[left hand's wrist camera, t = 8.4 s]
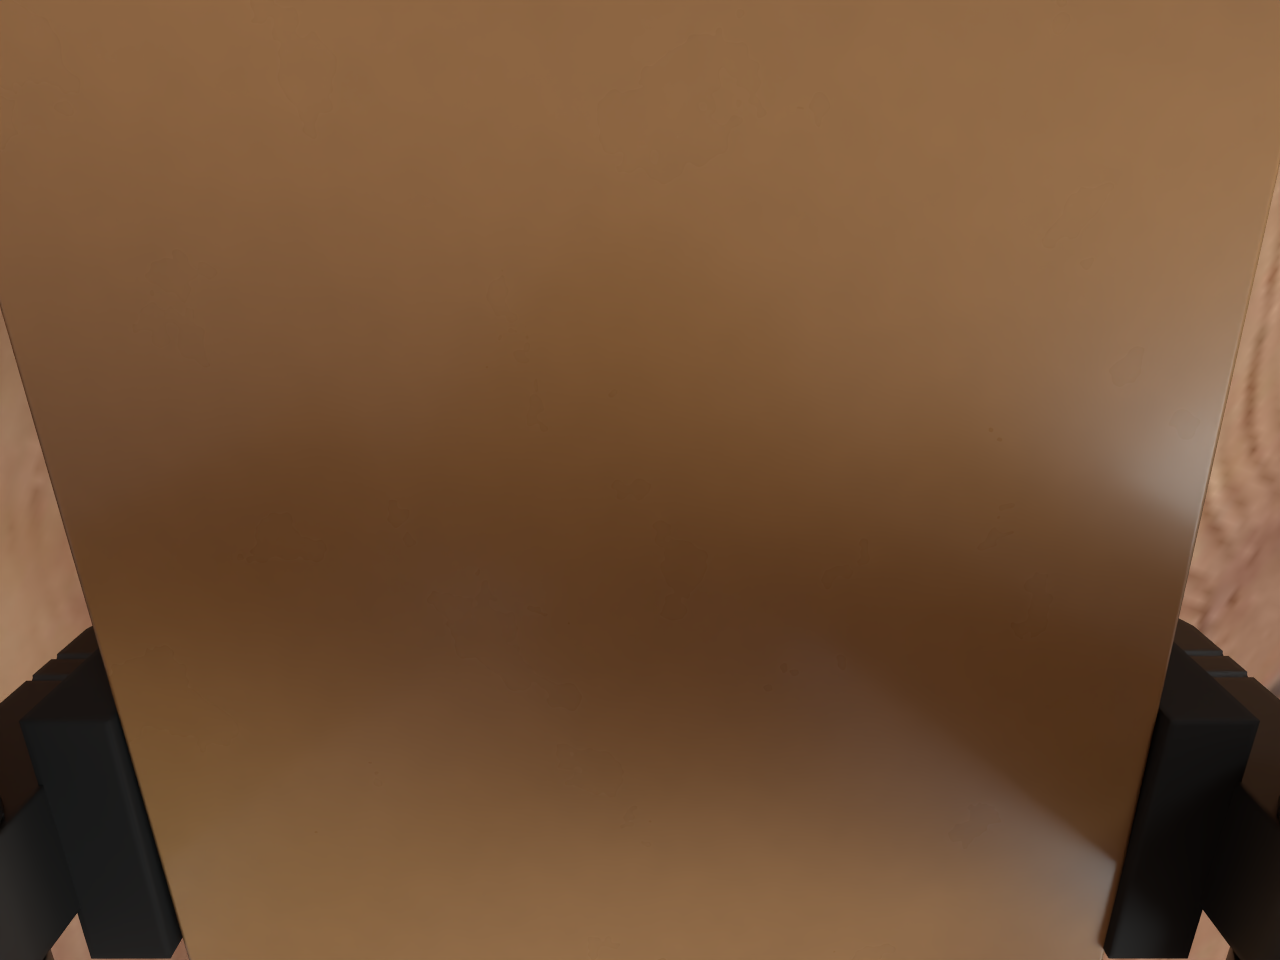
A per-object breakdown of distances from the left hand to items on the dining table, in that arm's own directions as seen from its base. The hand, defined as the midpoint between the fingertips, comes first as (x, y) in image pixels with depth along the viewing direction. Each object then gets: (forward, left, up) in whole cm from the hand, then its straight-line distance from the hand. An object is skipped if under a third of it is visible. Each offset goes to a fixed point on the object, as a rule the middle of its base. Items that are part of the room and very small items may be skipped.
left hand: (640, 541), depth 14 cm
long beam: (+2, +21, -1) cm, 21 cm away
